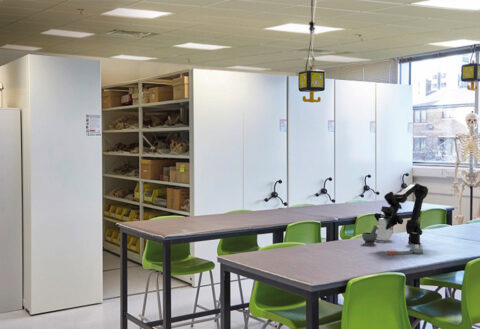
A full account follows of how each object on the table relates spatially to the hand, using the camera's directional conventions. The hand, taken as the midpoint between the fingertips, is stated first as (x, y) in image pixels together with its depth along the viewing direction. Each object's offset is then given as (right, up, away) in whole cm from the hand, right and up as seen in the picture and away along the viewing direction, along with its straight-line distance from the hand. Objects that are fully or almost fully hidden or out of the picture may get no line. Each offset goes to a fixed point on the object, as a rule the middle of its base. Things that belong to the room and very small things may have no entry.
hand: (382, 228), depth 371 cm
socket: (+1, -7, +1) cm, 7 cm away
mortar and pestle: (-3, -13, +24) cm, 28 cm away
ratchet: (+11, -14, -12) cm, 21 cm away
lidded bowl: (+10, -12, +40) cm, 43 cm away
